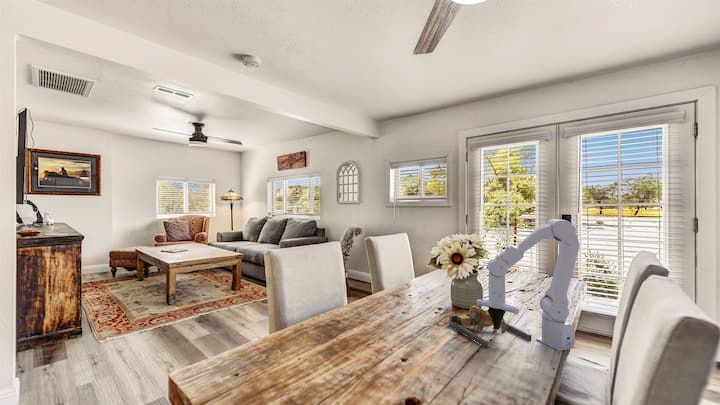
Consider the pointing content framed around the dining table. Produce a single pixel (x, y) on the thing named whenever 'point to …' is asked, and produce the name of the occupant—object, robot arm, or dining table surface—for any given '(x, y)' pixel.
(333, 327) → the dining table surface
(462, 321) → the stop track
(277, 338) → the dining table surface
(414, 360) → the dining table surface
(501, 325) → the lion figurine
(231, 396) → the dining table surface
